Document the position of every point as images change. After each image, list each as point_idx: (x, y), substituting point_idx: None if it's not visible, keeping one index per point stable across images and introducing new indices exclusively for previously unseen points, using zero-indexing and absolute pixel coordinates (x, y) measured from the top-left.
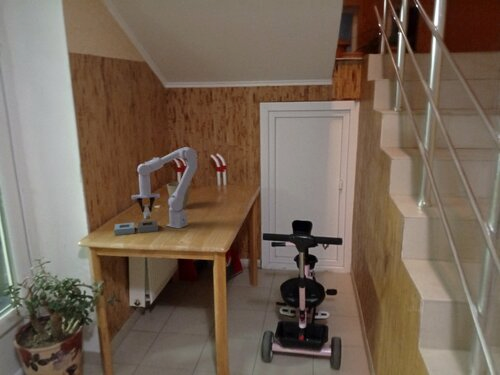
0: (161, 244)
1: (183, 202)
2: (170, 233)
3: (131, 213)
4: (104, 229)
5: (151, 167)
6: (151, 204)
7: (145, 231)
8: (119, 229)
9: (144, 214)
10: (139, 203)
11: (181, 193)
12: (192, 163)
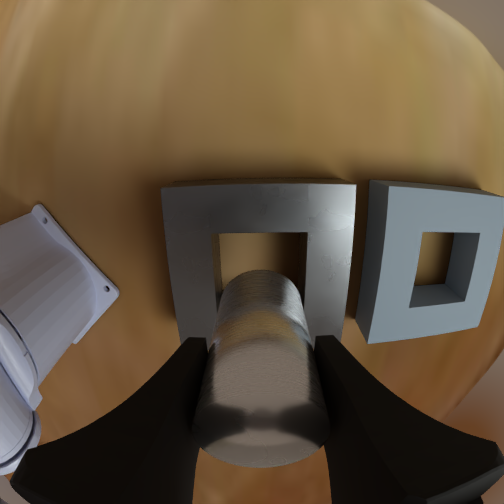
0: None
1: None
2: (88, 102)
3: (322, 490)
4: (493, 321)
5: None
6: (136, 413)
7: (283, 178)
8: (483, 194)
9: (297, 311)
10: (443, 431)
11: None
12: None
